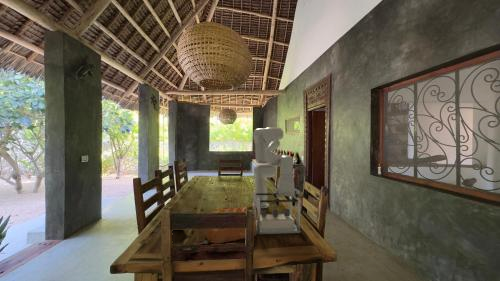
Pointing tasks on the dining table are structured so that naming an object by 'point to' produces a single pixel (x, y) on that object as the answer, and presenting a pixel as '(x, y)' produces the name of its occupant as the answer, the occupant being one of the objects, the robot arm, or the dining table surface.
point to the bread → (227, 229)
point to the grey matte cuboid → (286, 212)
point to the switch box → (276, 222)
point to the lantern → (199, 235)
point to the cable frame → (296, 228)
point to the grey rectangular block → (263, 213)
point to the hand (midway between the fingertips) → (285, 204)
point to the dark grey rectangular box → (275, 213)
